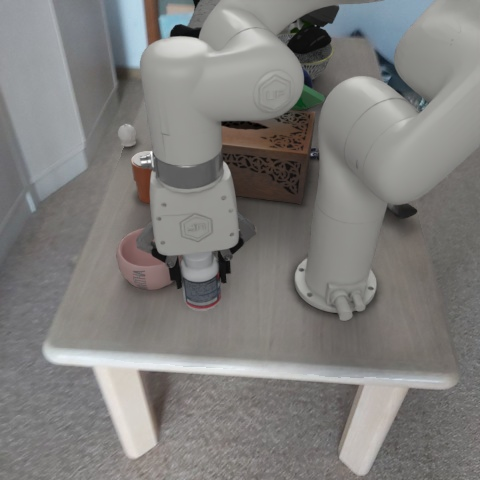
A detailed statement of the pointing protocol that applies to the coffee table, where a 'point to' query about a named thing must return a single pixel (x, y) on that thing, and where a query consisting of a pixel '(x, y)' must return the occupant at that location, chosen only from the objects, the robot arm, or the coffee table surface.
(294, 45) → the gaming mouse
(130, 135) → the decorative object set
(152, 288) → the mug
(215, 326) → the coffee table surface
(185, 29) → the speaker
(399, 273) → the coffee table surface
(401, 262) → the coffee table surface
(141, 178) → the orange cylinder
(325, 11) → the motorcycle dashboard
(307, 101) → the toy
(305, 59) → the bowl
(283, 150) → the tissue box cover
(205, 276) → the pill bottle
